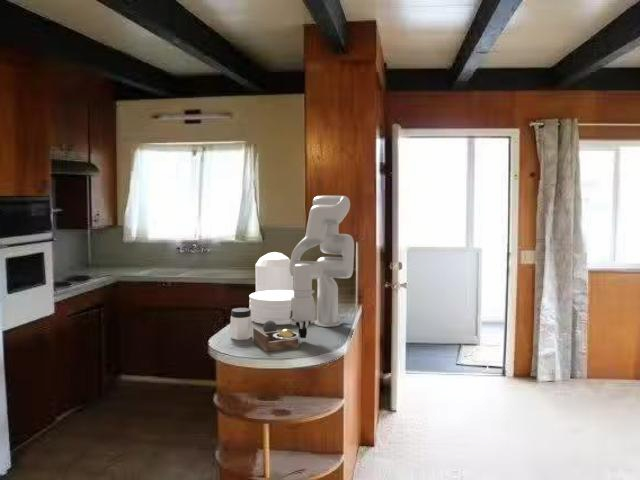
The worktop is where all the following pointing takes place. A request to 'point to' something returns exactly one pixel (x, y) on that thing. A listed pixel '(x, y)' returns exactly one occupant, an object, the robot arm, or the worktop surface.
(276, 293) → the plate stack
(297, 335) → the steel race
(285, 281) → the container
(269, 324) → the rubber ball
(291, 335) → the brass ball
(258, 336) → the walnut housing
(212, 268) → the worktop surface
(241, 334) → the jar
